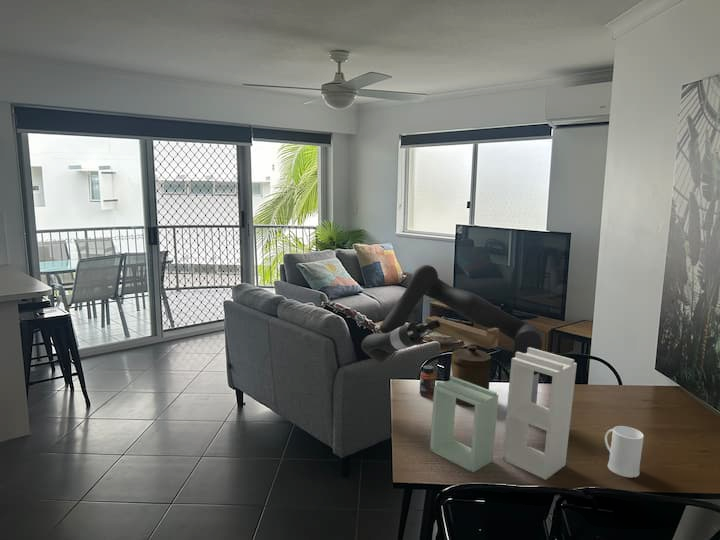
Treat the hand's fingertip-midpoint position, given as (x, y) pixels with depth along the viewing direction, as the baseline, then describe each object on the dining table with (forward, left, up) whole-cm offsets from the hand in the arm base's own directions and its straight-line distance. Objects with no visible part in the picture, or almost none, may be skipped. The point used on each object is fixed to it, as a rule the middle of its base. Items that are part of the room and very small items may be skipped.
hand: (443, 322), depth 162 cm
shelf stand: (-12, +28, -39) cm, 50 cm away
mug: (-30, +46, -39) cm, 68 cm away
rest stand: (+2, +12, -39) cm, 41 cm away
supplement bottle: (-26, -25, -39) cm, 53 cm away
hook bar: (0, +7, -3) cm, 7 cm away
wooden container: (-35, -12, -39) cm, 54 cm away
